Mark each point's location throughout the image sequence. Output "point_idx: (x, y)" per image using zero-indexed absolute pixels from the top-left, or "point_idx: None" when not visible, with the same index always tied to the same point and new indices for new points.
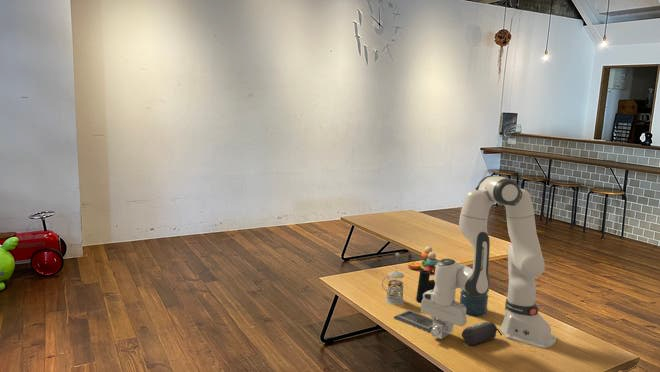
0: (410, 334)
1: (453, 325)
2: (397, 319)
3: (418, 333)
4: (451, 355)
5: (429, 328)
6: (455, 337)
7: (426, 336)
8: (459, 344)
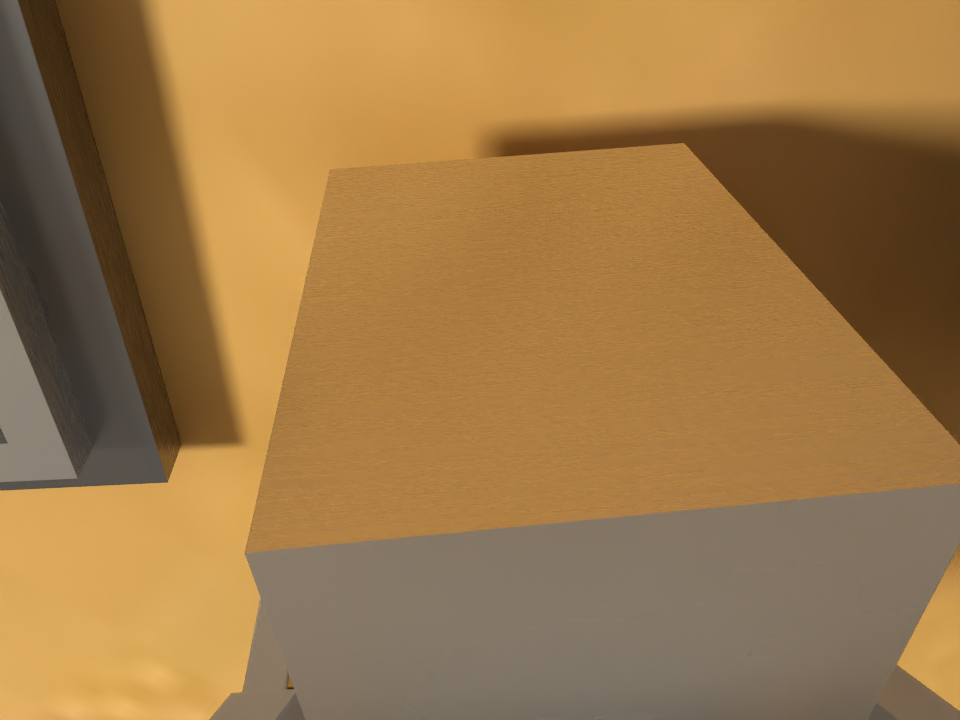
0: (43, 664)
1: (768, 240)
2: None
3: (75, 566)
4: None
5: (71, 408)
6: (740, 139)
7: None
8: (908, 351)
